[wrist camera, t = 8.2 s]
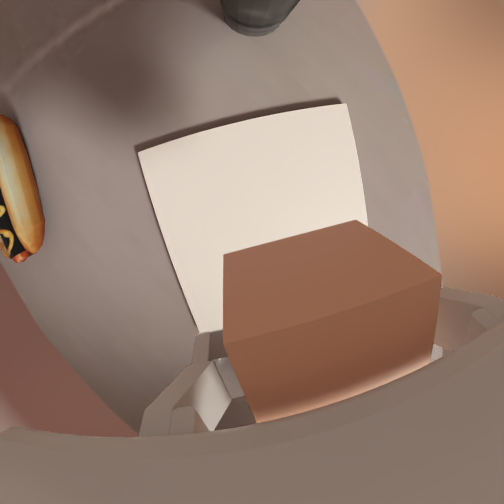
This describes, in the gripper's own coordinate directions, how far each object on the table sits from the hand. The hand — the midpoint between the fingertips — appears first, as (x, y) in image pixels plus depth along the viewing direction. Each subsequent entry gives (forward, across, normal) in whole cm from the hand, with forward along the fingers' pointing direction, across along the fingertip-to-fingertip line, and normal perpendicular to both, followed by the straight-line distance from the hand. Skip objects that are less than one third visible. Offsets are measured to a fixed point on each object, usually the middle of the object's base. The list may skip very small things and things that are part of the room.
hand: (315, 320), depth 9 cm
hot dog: (+14, +20, -10) cm, 26 cm away
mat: (+14, 0, 0) cm, 14 cm away
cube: (+2, 0, 0) cm, 2 cm away
